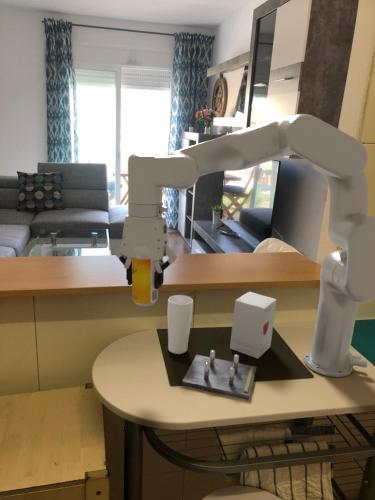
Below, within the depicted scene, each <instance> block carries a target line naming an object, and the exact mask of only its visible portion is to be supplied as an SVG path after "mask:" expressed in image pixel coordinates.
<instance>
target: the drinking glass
mask: <svg viewBox="0 0 375 500" xmlns="http://www.w3.org/2000/svg"><path fill="white" fill-rule="evenodd" d="M193 308H194V300H193V298H192V297H191V296H188V295H184V294H177V295H176V294H174V295H171V296H169V298H168V300H167V309H166V310H167V311H166V316H167V319H166V320H167V339H168V340H167V343H168V345H167V349H168V351H169V352H170V353H171V354H175V355H176V354H177V355H181V354H184V353H186V352H187V351H188V346H189V345H188V343H189V339H190V338H189V336H190V332H191V325H192V319H193V311H194V309H193Z"/></svg>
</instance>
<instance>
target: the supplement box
mask: <svg viewBox="0 0 375 500" xmlns="http://www.w3.org/2000/svg"><path fill="white" fill-rule="evenodd" d="M276 306H277V298H273V297H270V296H267V295H266V296H265V295H262V294H259V293H257V292H256V293H255V292H253V291H248V292H246V293H244V294H243V295H241V296H240V297H238V298H237V299H235V300H234V307H233V308H234V309H233V318H232V325H231V327H232V328H231V337H230V344H229V345H230V346H229V349H231V350H234V351H235V352H239V353H241V354H244V355H247V356H249V357H252V358H255V359H257V360H258V359H259V358H260V357H262V356H263V355H264V354H265V353H266V352H267V351H268V349H270V348H271V345H272V338H273V337H272V336H273V330H274V329H273V328H274V323H275V320H274V319H275V315H276V314H275V313H276Z"/></svg>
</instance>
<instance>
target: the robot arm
mask: <svg viewBox="0 0 375 500" xmlns="http://www.w3.org/2000/svg"><path fill="white" fill-rule="evenodd" d="M290 155H294V156H298V157H300V158H302V159H303V160H305V161H307V162H308V163H310V166H311V167H312V168H313V169H314V170H315V171H316V172H317V173H320V174H321V175H323V177H324V178H325V180H326V182H327V184H328V189H329V213H328V214H329V215H328V229H327V230H328V232H327V233H328V238H329V240H330V241H331V242H332V244H334V245H336V246H337V247H339V248H341V249H337V250H333V251H331V252H329V253H328V254H327V255H326V256H325V257H324V258H323V261H322V263H321V266H320V271H319V272H320V273H319V274H320V275H319V280H320V282H319V283H320V285H319V287H320V289H319V298H318V306H317V312H316V318H315V323H314V329H313V330H314V331H313V335H312V336H313V337H312V341H311V342H312V343H311V348H310V350H308V351H306V352H305V353H304V354H303V362H304V364H305V365H306V366H307V367H308V368H309V369H311V370H312V371H314V372H316V373H318V374H320V375H323V376H326V377H334V378H341V377H346V376H349V375H350V374H351V373H352V372H353V370H354V366H355V367H356V366H357V367H360V368H365V369H366V368H367V367H368V360H366V359H362V356H361V355H358V354H352V353H351V350H350V349H351V345H352V339H353V335H354V328H355V324H356V317H357V313H358V310H359V309H358V306H359V304H367V303H371V302H373V301H375V217H374V216H371V215H369V213H368V207H369V206H368V205H369V204H368V203H369V201H368V199H369V185H368V179H367V176H366V173H365V171H364V170H365V169H366V166H367V164H368V159H369V157H368V156H369V155H368V151H367V149H366V147H365V145H364V144H363V143H362V142H361V141H360V140H359V139H357V138H355V137H354V136H352V135H350V134H348V133H346V132H344V131H342V130H340V129H338V127H335V126H333V125H332V124H329V123H328V122H325V121H323V120H322V119H320V118H318V117H316V116H314V115H312V114H307V113H295V114H286V115H282V116H279V117H276V118H273V119H269V120H268V121H265V122H264V121H263V122H261V123H257V124H255V125H252V126H249V127H246V128H243V129H240V130H239V129H238V130H237V131H234V132H231V133H228V134H224V135H222V136H219V137H217V138H213V139H211V140H210V139H209V140H206V141H203V142H200V143H196V144H194V145H190V146H187V147H184V148H181V149H179V150H176V151H173V152H170V153H168V154H167V155H165V156H160V155H158V154H155V153H142V152H141V153H140V152H139V153H133V154H131V155H130V156H128V159H127V199H128V200H127V203H128V205H127V206H128V207H127V209H128V210H127V214H126V215H125V218H124V222H123V228H122V237H121V238H122V240H121V243H120V244H118V246H117V247H115V249H113V254H114V255H115V256H116V257H117V258H118V260H119V261H120V262H121V264H122V265H123V267H124V269H125V273H126V274H125V276H126V281H127V286H132V258H133V249H134V247H135V246H137V244H144V245H145V246H146V247H147V248H148V249H149V253H150V258H151V260H152V261H154V264H155V267H156V273H155V285H154V288H155V289H158V290H159V289H160V288H161V286H163V284H164V278H165V277H164V276H165V275H164V274H165V273H164V271H165V270H166V269H167V268H168V267H170V266H171V265H172V264H173V263H174V262H175V261H177V260H178V256H177V254H176V253H175V252H174V250H172V248H171V247H170V245H169V244H170V243H169V231H168V224H167V218H166V216H165V215H163V214H164V213H165V214H167V213H168V212H169V207H168V206H165V205H164V202H163V189H172V190H179V191H183V190H188V189H190V188H192V187H194V186H195V184H197V182H198V180H199V177H202V176H205V175H209V174H214V173H217V172H223V171H224V172H225V171H227V172H228V171H229V172H230V171H231V172H233V171H242V170H247V169H250V168H254V167H256V166H259V165H261V164H264V163H268V162H270V161H271V162H272V161H274V160H278V159H280V158H281V159H282V158H284V157H286V156H290ZM164 257H168V259H167V260H166V261H164Z"/></svg>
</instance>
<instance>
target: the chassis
mask: <svg viewBox="0 0 375 500" xmlns="http://www.w3.org/2000/svg"><path fill="white" fill-rule="evenodd" d="M239 359H240V355H239V354H234V355H233V361H229V360H226V359H220V358H216V350H215V349H211V350H210V353H209V356H205V355H199V354H196V355H195V356H194V358H193V360H192V363H191V364H190V366H189V368H188V370H187V372H186V373H185V374H184V375H185V376H184V377H183V378H182V382H181V383H182V384H181V386H183V387H188V388H191V389H197V390H199V391H200V390H201V391H206V392H211V393H215V394H220V395H223V396H227V397H233V398H236V399H241V400H246V401H250V396H251V393H252V389H253V385H254V381H255V376H256V373H257V366H254V365H249V364H245V363H240V362H239Z"/></svg>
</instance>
